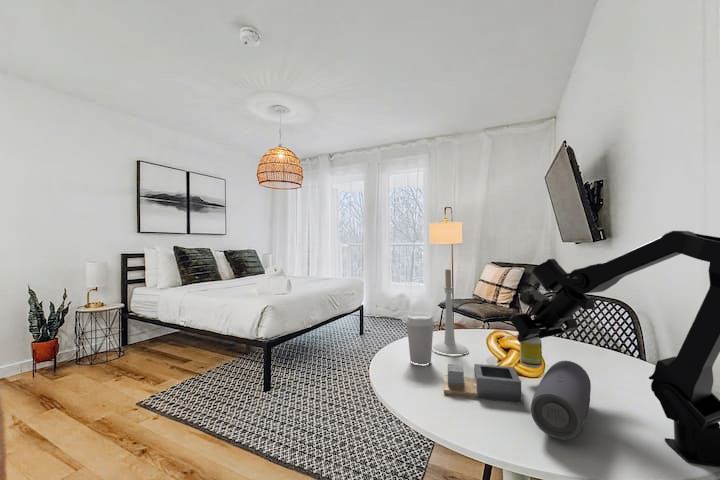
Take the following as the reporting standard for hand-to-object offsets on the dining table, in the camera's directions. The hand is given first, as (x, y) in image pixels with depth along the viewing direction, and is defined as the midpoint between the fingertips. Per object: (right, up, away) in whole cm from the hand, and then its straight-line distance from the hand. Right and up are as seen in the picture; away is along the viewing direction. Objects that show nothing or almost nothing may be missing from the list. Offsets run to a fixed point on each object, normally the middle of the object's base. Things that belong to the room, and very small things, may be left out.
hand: (526, 339), depth 89 cm
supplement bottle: (+1, -7, -2) cm, 7 cm away
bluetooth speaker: (-3, -11, -21) cm, 24 cm away
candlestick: (-14, -13, +26) cm, 32 cm away
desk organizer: (-15, -11, -6) cm, 20 cm away
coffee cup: (-27, -12, +14) cm, 33 cm away
